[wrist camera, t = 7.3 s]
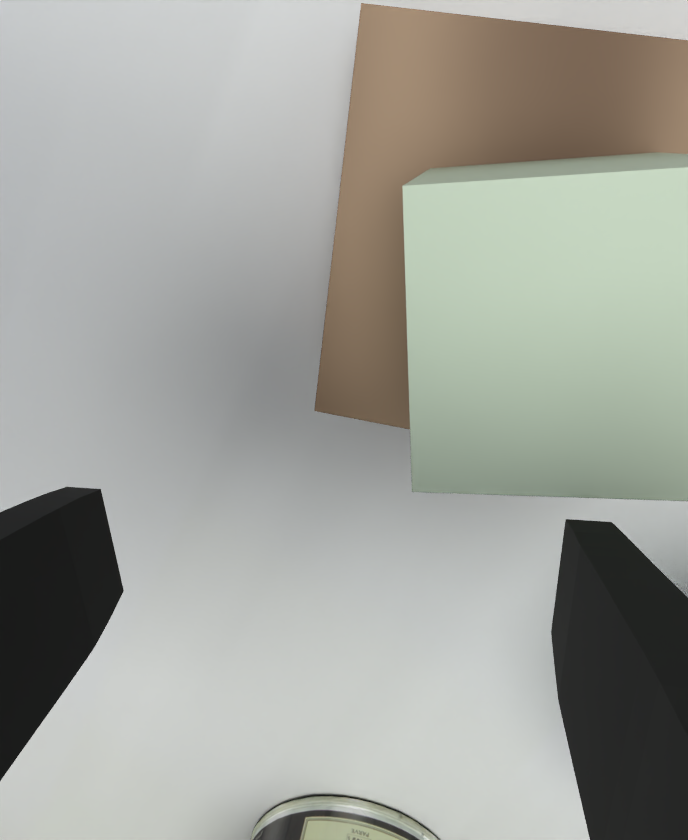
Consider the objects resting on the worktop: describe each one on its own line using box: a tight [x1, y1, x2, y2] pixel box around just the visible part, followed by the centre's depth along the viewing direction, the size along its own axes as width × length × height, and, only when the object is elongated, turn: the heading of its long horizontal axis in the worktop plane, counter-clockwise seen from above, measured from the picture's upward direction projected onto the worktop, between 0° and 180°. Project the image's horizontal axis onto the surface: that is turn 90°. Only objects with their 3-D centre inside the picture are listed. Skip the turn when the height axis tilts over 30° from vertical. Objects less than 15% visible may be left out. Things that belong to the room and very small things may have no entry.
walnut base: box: [314, 3, 688, 429], centre depth 15 cm, size 9×9×4 cm
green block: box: [402, 152, 688, 501], centre depth 11 cm, size 4×4×6 cm
